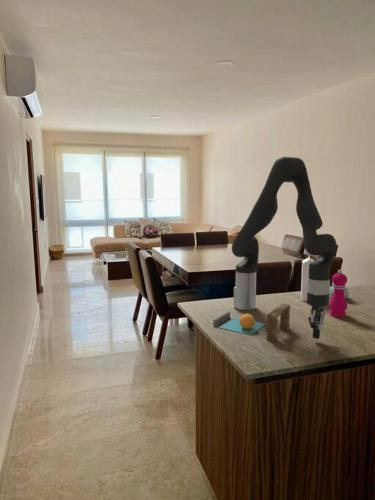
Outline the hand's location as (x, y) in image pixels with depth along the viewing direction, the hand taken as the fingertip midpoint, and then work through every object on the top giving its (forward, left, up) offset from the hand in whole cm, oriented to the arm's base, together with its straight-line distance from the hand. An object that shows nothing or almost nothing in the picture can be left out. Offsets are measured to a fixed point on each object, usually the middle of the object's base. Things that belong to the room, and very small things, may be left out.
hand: (316, 337), depth 133 cm
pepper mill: (0, +34, -2) cm, 34 cm away
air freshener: (-6, +60, -2) cm, 60 cm away
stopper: (-38, 0, -2) cm, 39 cm away
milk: (-18, +50, -2) cm, 53 cm away
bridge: (-14, 0, -2) cm, 14 cm away
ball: (-26, -2, +2) cm, 26 cm away
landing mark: (-29, 0, -2) cm, 29 cm away
